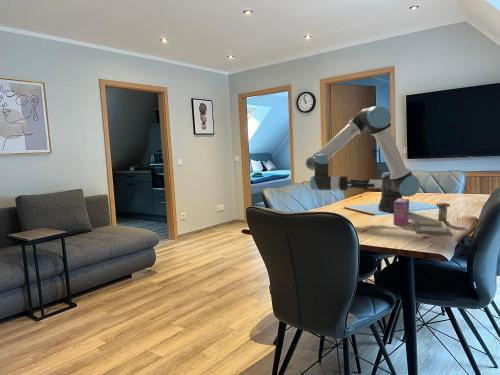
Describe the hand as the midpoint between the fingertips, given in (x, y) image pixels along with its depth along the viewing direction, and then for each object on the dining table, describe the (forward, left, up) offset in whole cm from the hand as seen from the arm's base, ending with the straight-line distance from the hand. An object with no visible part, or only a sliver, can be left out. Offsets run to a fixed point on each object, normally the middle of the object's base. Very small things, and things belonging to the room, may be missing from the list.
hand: (381, 183), depth 188 cm
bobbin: (+29, +3, -20) cm, 35 cm away
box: (+10, 0, -20) cm, 22 cm away
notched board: (+23, -12, -20) cm, 32 cm away
